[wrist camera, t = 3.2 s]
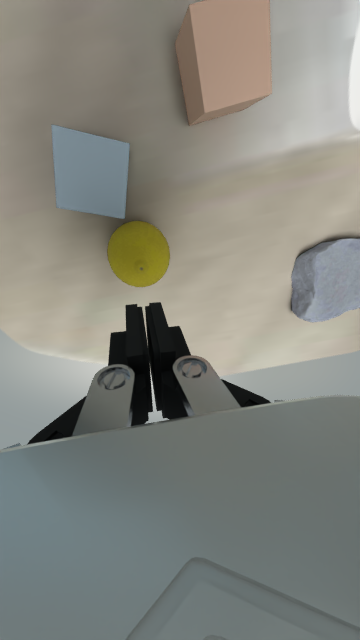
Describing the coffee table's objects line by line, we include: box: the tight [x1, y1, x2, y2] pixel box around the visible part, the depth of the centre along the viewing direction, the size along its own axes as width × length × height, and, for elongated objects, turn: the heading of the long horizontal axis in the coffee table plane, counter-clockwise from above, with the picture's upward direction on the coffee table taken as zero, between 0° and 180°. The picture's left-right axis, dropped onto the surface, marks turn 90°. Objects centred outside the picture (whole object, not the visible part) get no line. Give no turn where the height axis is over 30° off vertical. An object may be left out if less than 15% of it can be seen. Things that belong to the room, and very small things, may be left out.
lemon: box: [107, 221, 170, 287], centre depth 22 cm, size 6×6×8 cm
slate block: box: [52, 125, 130, 219], centre depth 19 cm, size 5×5×5 cm
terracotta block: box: [175, 0, 272, 126], centre depth 18 cm, size 5×5×5 cm
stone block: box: [291, 238, 360, 322], centre depth 31 cm, size 12×5×10 cm
